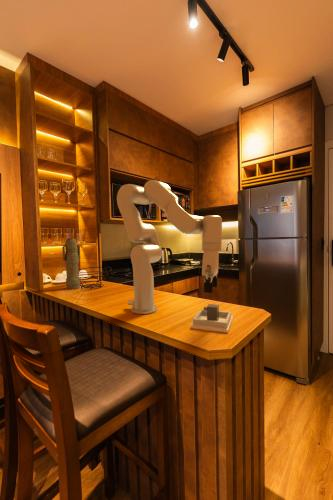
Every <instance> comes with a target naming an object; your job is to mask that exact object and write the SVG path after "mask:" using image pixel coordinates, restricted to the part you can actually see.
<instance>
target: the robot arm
mask: <svg viewBox="0 0 333 500" xmlns="http://www.w3.org/2000/svg"><path fill="white" fill-rule="evenodd" d="M116 203H117V207H118V210H119V212H120V215H121V217H122V222H123V224H124V228H125V231H126V234H127V237H128V240H129V241H130V242H131V243H142V244H137V245H135V246H133V247H132V249H131V251H130V260H131V261H130V262H131V264H132V272H133V273H132V277H133V300H132V299H129V300H127V305H128V306H131V308H130V311H131V312H132V313H133V314H137V315H148V314H153V313H155V312H157V311H158V310H159V309H158V306H157V305H155V285H154V284H155V283H154V281H155V280H154V270H153V268H152V265H151V264H154V263H157V262H159V261H161V259H162V257H163V249H162V245H161V243H160V238H159V236H158V232H157V229H156V228H155V227H154V226H153V225H152V224H151V223H148V222H143V220H142V217H141V213H140V211H139V210H138V208H137V207H136V206H135V204H136V205H142V206H143V205H145V206H147V205H151V204H152V205H153V204H155V205H156V207H158V208H159V209H160V210H162V211H163V213H164V215H165V216H166V218H167V221H168V222H169V223H170V224H172V226H173V227H175V228H176V229H177V230H178V231H179V232H181V233H183V234H185V235H199V234H201V235H202V236H201V240H202V242H201V251H202V252H203V254H202V265H201V267H202V268H201V275H202V277H203V279H204V282H203V292H204V293H206V294H207V293H209V294H212V293H213V290H214V289H213V288H217V287H218V274H219V258H220V255H219V252H222V239H223V238H222V237H223V235H222V234H223V233H222V231H223V218H222V217H221V216H220V215H213V214H212V215H205V216H199V215H193V214H189V213H188V212H187V211H185V209H184V208H182V207H181V205H179V197H178V196H177V195H176V194H175V193H173V192H172V189H171V187H170V186H169V185H168V184H167V183H165V182H163V181H159V180H156V179H150V180H148V181H146V182H145V184H144V186H141V185H137V184H133V183H128V184H127V183H125V184H123V185H122V186H120V188H119V190H118V191H117V195H116Z"/></svg>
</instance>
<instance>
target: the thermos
mask: <svg viewBox="0 0 333 500" xmlns="http://www.w3.org/2000/svg"><path fill="white" fill-rule="evenodd" d="M80 247H81V246H80V245H79V244H78V243H77V240H76V238H75V237H74V238H73V237H69V238H68V237H67V238H66V239H65V242H64V245H62V247H61V248H62V251H61V252H62V260H63V261H64V264H65V271H66V278H65V285H66V290H77V289H80V287H81V281H80V279H81V278H80V276H79V263H80V262H79V261H80V259H81V249H80Z"/></svg>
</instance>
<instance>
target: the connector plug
mask: <svg viewBox="0 0 333 500" xmlns="http://www.w3.org/2000/svg"><path fill="white" fill-rule="evenodd" d="M219 305H220V304H215V303H209V304H208V305H207V306H203V309H204V310H206V311H207V320H212V321H218V320H219V311H220V310H219V309H220V306H219Z"/></svg>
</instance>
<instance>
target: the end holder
mask: <svg viewBox="0 0 333 500" xmlns="http://www.w3.org/2000/svg"><path fill="white" fill-rule="evenodd" d="M233 319H234V315H232V311H225V310H224V311H223V310H219V320H218V321H212V320H207V311H206V310H204V308H202V309H200V310H199V311H198V312H197V313H196V315H194V317H193V318H192V323H191V324H190V329H195V330H204V331H210V332H218V333H229V331H230V329H231V325H232V323H233Z"/></svg>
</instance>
